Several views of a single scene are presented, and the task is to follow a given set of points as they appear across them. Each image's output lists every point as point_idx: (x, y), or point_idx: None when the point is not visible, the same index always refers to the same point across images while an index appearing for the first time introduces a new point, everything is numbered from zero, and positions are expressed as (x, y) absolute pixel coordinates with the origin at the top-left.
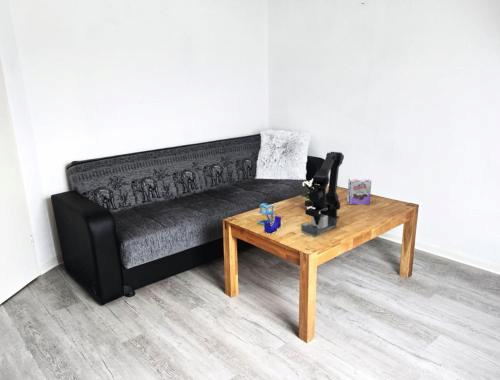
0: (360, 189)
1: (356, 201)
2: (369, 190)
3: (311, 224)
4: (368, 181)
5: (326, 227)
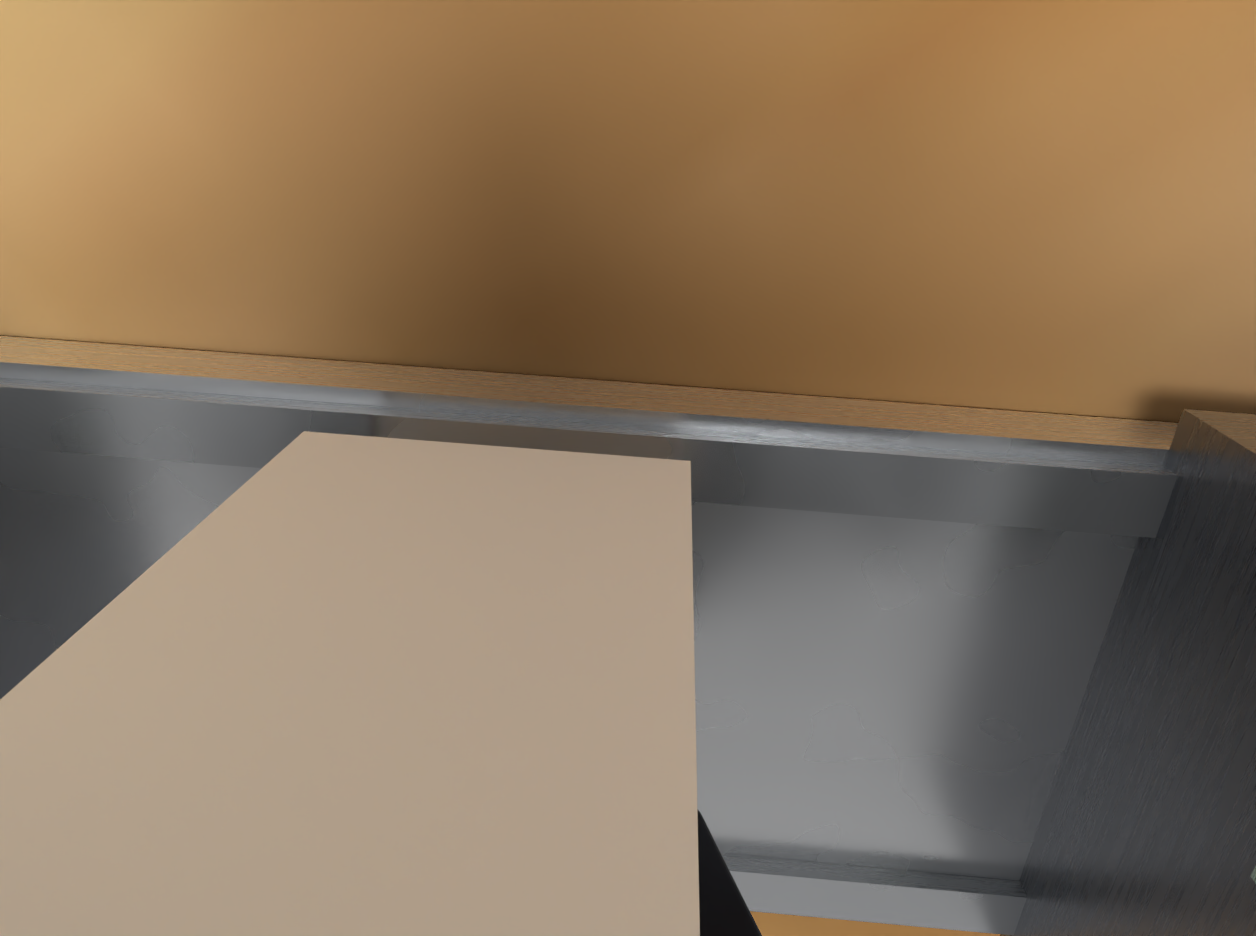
0: None
1: None
2: None
3: (300, 443)
4: None
5: None
